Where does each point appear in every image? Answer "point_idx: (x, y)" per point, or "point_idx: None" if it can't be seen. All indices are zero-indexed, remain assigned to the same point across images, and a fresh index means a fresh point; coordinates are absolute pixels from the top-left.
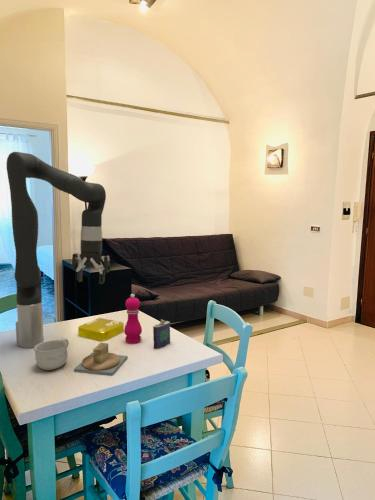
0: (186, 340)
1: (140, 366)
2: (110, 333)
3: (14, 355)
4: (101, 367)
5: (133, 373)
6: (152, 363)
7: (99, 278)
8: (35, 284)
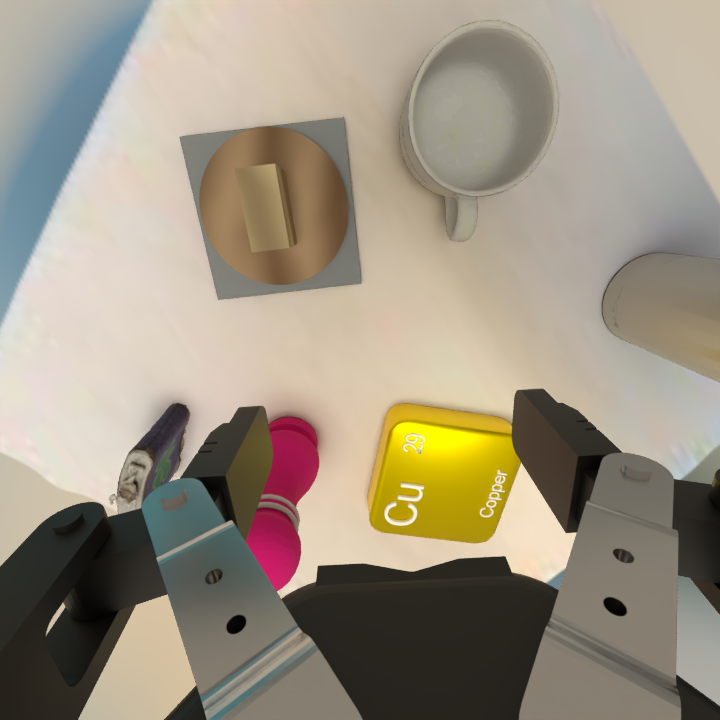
0: None
1: (138, 251)
2: (382, 446)
3: (656, 177)
4: (229, 141)
5: (125, 186)
6: (114, 289)
7: (240, 438)
8: None
